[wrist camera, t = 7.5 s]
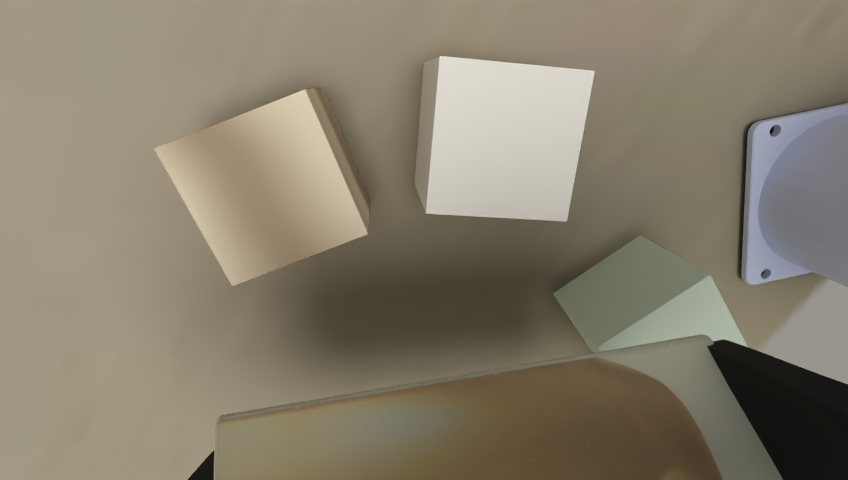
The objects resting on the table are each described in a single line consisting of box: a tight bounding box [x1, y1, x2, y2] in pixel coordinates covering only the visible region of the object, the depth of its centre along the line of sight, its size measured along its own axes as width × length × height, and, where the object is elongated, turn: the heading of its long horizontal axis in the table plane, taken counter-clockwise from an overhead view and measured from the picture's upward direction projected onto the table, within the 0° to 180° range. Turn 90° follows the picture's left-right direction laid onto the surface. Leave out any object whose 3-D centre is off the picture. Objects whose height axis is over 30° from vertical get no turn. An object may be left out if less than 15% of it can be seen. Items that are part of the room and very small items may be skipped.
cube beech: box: [155, 87, 370, 286], centre depth 18 cm, size 5×5×5 cm
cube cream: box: [414, 56, 595, 221], centre depth 18 cm, size 5×5×5 cm
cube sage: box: [553, 235, 748, 353], centre depth 21 cm, size 5×5×5 cm
